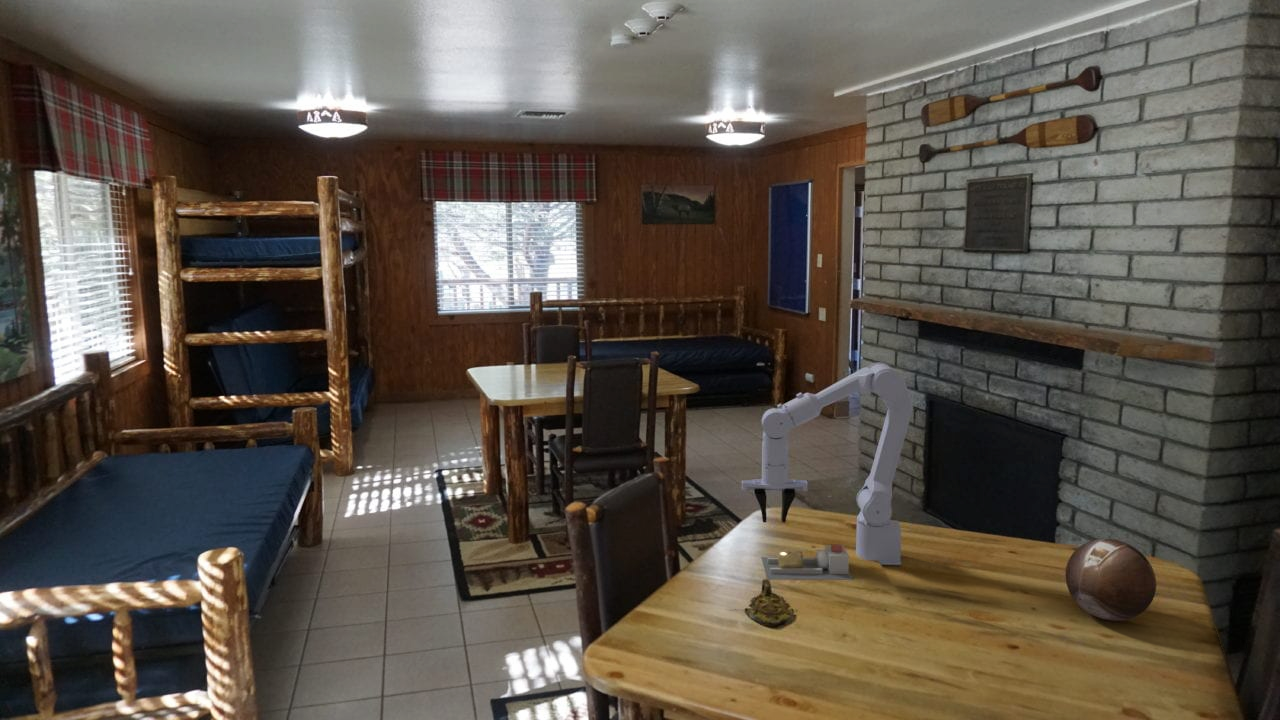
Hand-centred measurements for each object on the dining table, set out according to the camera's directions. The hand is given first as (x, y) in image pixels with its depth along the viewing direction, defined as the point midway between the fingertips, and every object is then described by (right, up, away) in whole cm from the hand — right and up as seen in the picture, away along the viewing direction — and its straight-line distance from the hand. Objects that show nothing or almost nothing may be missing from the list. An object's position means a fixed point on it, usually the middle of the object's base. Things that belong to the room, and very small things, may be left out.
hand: (773, 521), depth 192 cm
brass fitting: (+2, -9, -8) cm, 12 cm away
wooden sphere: (+59, -13, -30) cm, 67 cm away
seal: (-5, -13, -26) cm, 29 cm away
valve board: (+6, -10, -8) cm, 14 cm away
